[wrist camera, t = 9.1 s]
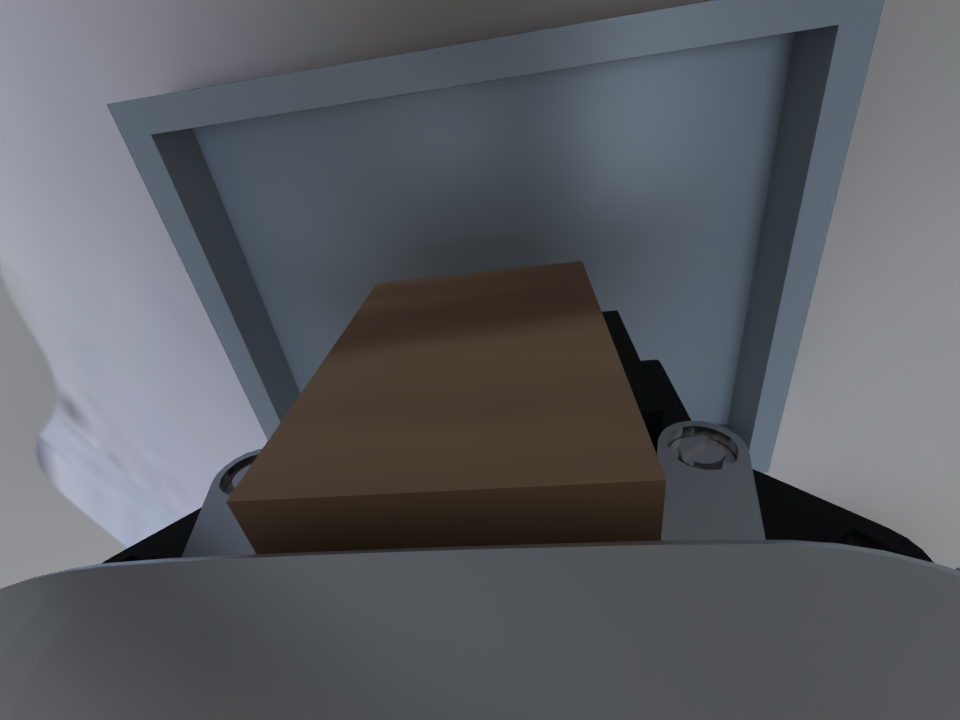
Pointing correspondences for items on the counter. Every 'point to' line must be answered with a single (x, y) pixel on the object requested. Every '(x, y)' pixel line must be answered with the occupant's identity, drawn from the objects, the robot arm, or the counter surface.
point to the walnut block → (461, 426)
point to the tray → (529, 187)
